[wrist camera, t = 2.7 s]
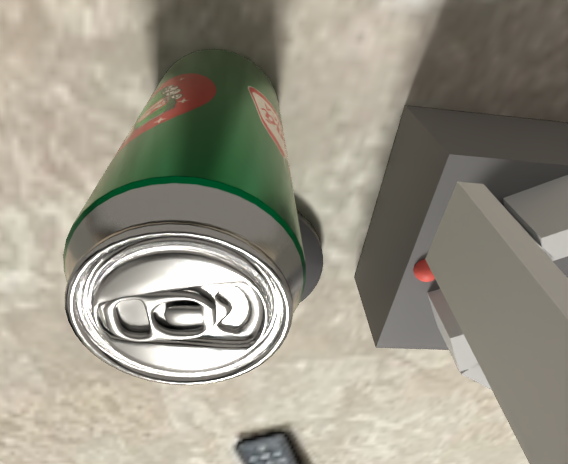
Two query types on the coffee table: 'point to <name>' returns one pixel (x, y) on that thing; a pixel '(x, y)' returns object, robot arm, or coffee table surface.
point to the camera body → (431, 207)
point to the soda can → (191, 232)
